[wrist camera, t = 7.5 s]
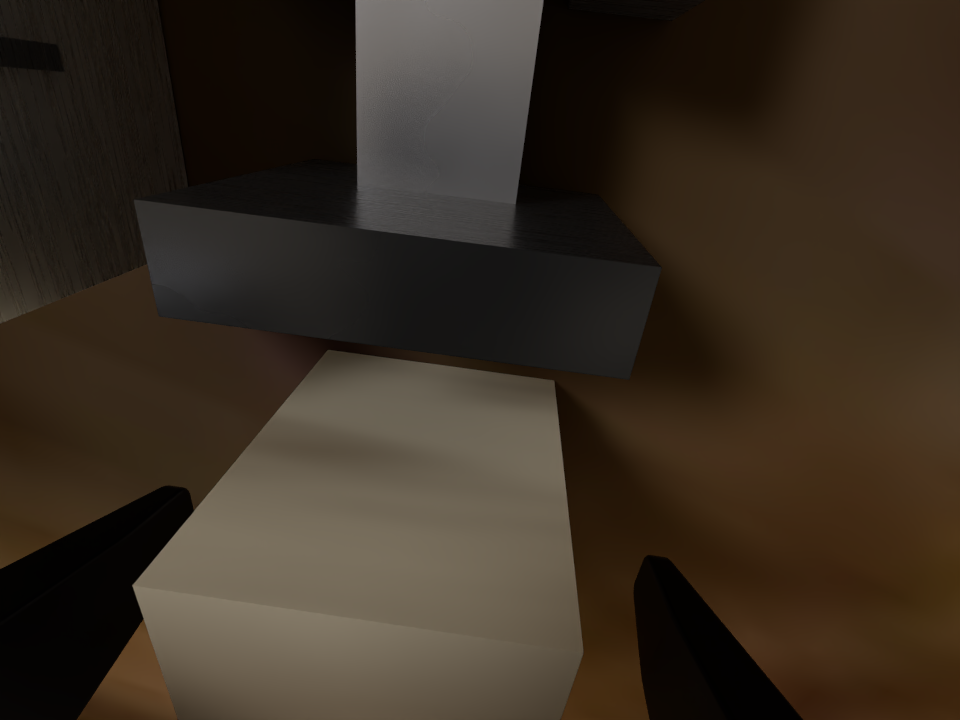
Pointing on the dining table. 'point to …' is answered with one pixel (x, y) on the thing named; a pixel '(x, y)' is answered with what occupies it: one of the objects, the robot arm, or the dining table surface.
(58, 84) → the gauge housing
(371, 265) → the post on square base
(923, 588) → the dining table surface
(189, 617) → the block
